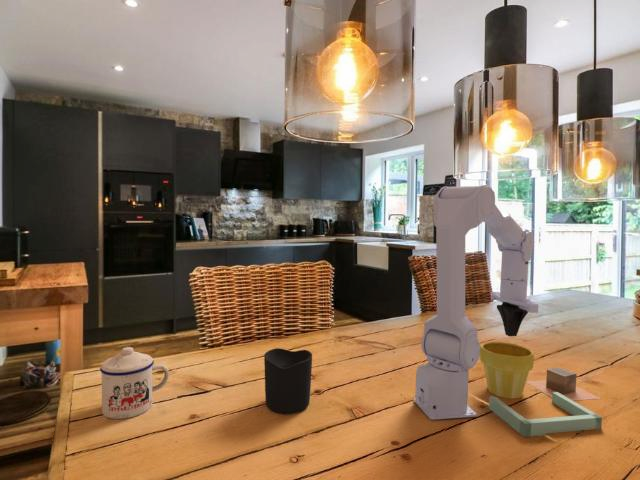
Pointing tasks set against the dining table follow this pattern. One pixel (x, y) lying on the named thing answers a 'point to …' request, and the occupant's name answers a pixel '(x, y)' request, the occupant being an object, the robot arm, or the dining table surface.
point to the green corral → (541, 426)
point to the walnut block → (561, 380)
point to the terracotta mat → (574, 396)
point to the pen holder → (287, 380)
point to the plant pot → (506, 367)
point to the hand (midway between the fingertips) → (511, 335)
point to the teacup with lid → (128, 384)
